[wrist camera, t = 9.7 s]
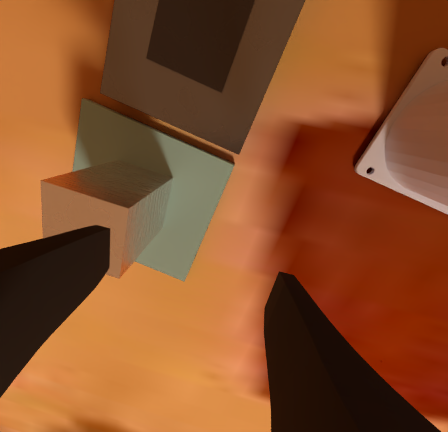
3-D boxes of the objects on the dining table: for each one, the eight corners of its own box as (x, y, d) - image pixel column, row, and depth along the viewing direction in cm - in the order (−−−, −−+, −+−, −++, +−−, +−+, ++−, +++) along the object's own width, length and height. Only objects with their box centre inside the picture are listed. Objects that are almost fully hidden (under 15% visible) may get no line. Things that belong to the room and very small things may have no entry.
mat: (234, 163, 17) (234, 165, 17) (186, 277, 22) (184, 281, 21) (87, 98, 17) (81, 98, 16) (69, 229, 21) (64, 232, 21)
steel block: (173, 177, 18) (128, 208, 11) (162, 227, 20) (119, 278, 13) (117, 159, 18) (40, 180, 11) (112, 211, 19) (43, 254, 13)
